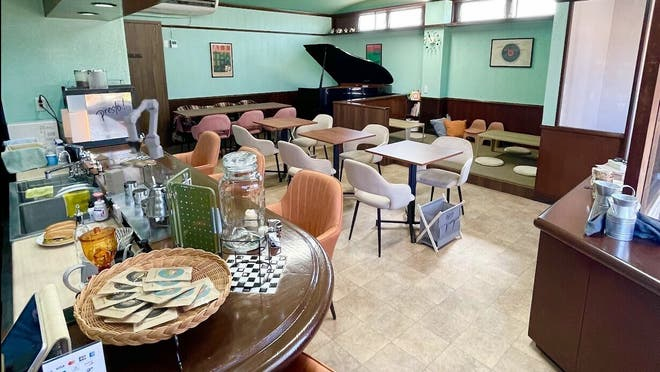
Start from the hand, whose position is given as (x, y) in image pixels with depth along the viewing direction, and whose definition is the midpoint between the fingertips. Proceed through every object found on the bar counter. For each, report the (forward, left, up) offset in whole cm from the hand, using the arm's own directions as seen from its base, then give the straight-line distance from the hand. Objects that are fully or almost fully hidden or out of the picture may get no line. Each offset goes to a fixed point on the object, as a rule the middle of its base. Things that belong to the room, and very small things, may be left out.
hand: (136, 151), depth 290 cm
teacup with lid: (+19, -9, -10) cm, 23 cm away
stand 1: (0, -7, -9) cm, 12 cm away
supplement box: (+50, +44, -10) cm, 67 cm away
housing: (0, 0, -1) cm, 1 cm away
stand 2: (0, +7, -9) cm, 11 cm away
